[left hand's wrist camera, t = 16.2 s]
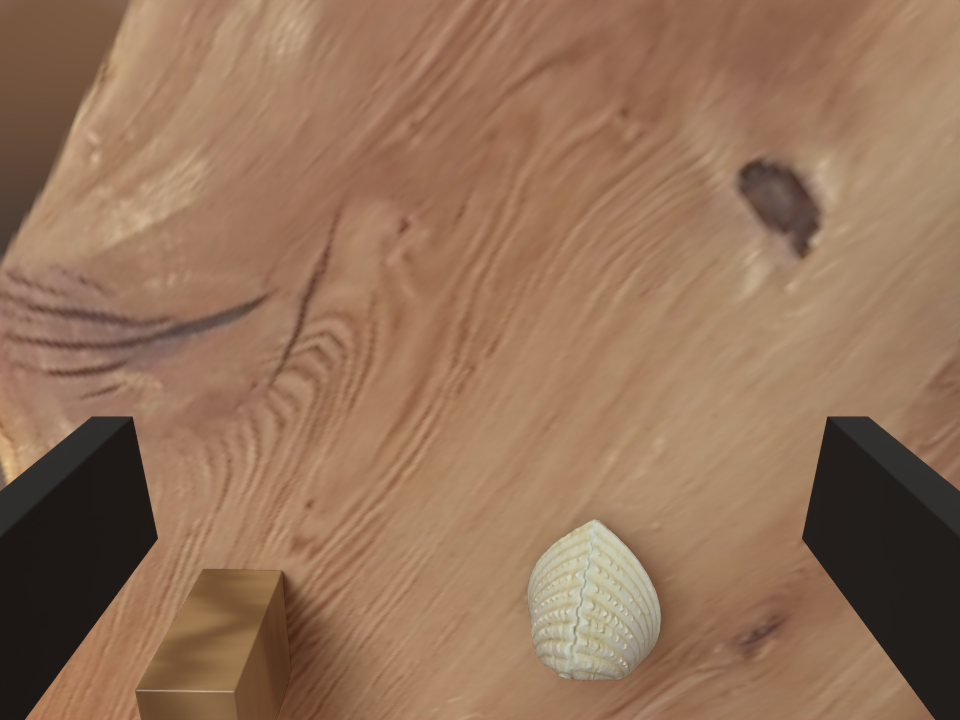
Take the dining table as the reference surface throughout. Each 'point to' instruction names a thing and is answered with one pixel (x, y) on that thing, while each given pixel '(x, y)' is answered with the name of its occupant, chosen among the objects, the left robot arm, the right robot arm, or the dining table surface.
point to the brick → (222, 652)
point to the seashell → (592, 606)
